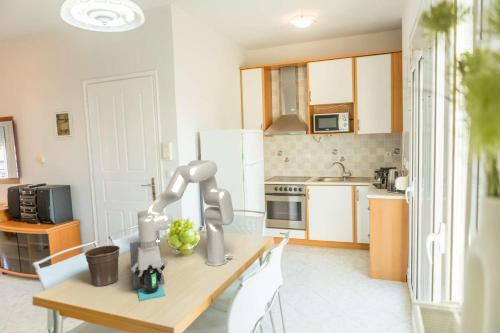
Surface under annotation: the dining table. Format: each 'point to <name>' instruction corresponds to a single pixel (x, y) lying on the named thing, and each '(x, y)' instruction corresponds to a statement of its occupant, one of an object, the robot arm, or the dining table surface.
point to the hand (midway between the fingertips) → (150, 281)
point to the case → (133, 254)
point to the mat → (151, 294)
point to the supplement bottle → (150, 279)
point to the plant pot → (103, 264)
